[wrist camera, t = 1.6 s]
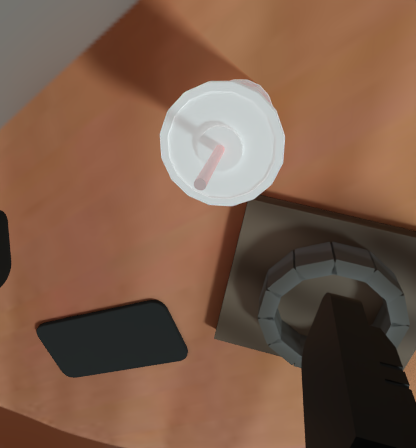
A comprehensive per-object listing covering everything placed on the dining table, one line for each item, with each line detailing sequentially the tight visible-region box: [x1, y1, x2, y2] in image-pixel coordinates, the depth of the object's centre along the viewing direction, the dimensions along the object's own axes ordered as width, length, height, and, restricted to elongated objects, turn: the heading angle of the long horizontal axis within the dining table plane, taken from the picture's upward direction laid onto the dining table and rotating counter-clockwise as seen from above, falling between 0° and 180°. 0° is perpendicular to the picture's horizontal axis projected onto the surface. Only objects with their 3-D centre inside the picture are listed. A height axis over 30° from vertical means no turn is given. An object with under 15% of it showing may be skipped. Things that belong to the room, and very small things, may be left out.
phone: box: [37, 300, 188, 378], centre depth 38 cm, size 7×1×15 cm
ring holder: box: [214, 195, 416, 370], centre depth 30 cm, size 14×16×4 cm
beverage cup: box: [160, 79, 285, 206], centre depth 20 cm, size 6×6×14 cm
